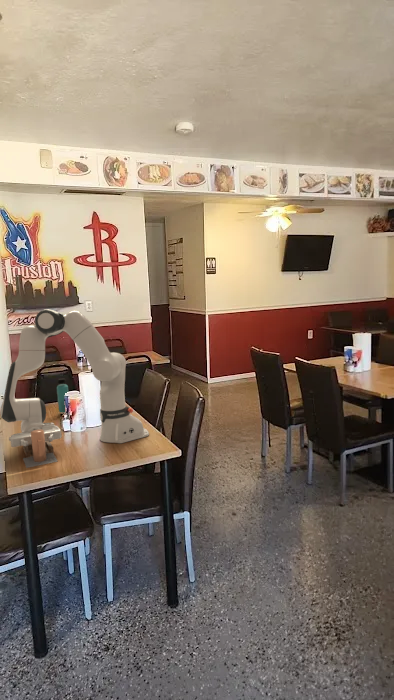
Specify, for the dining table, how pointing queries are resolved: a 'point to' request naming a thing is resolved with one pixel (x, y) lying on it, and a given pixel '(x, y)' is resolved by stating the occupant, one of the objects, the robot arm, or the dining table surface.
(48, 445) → the cradle
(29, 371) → the robot arm
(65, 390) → the beverage bottle
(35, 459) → the tall peach cylinder
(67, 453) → the dining table surface
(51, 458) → the mat
